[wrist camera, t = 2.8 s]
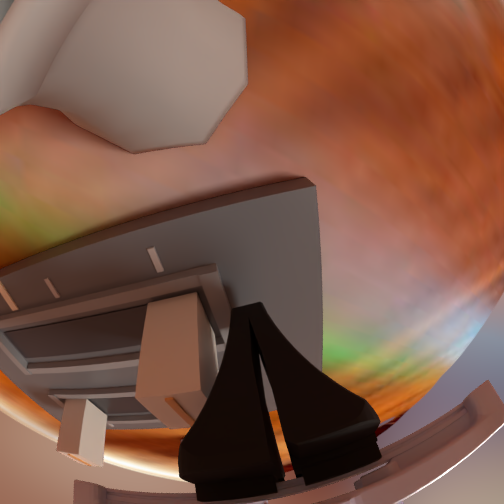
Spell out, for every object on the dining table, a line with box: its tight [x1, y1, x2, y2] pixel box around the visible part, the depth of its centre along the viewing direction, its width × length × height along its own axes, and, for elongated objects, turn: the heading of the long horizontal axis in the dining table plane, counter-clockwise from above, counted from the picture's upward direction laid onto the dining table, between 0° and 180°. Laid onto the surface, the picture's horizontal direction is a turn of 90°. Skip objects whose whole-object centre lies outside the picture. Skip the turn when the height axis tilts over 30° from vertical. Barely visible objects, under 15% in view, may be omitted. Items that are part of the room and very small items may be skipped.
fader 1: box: [57, 399, 107, 467], centre depth 14 cm, size 3×2×5 cm
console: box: [0, 177, 323, 429], centre depth 15 cm, size 18×26×2 cm
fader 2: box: [135, 292, 219, 429], centre depth 11 cm, size 3×2×5 cm
